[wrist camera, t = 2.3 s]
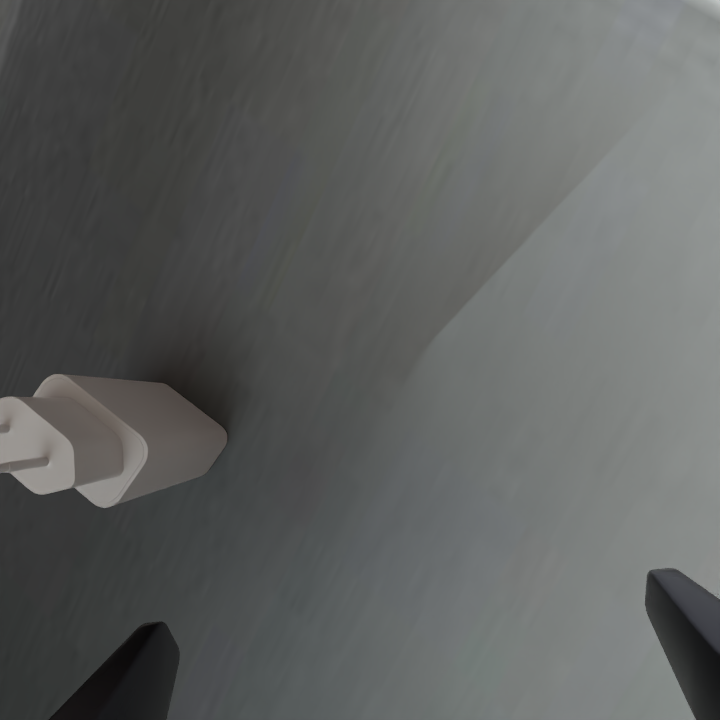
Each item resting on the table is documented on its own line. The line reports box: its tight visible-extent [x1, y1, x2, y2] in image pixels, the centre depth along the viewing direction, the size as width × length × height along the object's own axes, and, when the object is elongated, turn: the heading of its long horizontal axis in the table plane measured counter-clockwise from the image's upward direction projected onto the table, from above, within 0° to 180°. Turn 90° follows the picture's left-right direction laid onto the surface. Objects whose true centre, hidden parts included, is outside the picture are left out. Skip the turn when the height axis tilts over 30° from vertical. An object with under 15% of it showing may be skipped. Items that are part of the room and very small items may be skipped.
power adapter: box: [0, 374, 227, 508], centre depth 18 cm, size 3×5×12 cm, turn 55°
